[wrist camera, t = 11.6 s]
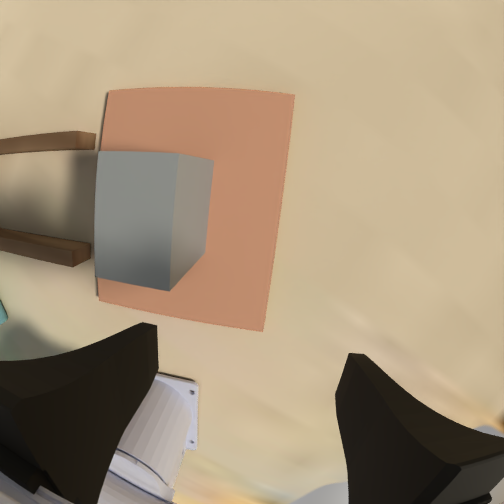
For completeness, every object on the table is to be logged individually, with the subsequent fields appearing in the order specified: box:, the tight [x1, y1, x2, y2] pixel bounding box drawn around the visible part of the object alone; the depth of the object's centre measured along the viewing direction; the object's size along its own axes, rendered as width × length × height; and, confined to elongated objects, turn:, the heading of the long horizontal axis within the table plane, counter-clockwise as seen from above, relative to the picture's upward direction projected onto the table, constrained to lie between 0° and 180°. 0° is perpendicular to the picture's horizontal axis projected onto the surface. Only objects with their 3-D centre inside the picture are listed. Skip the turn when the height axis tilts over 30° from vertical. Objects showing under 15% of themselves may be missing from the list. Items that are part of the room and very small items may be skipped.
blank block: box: [94, 151, 214, 292], centre depth 16 cm, size 6×4×7 cm, turn 173°
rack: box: [0, 131, 96, 267], centre depth 19 cm, size 10×16×4 cm, turn 83°
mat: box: [97, 87, 295, 332], centre depth 20 cm, size 16×13×1 cm
